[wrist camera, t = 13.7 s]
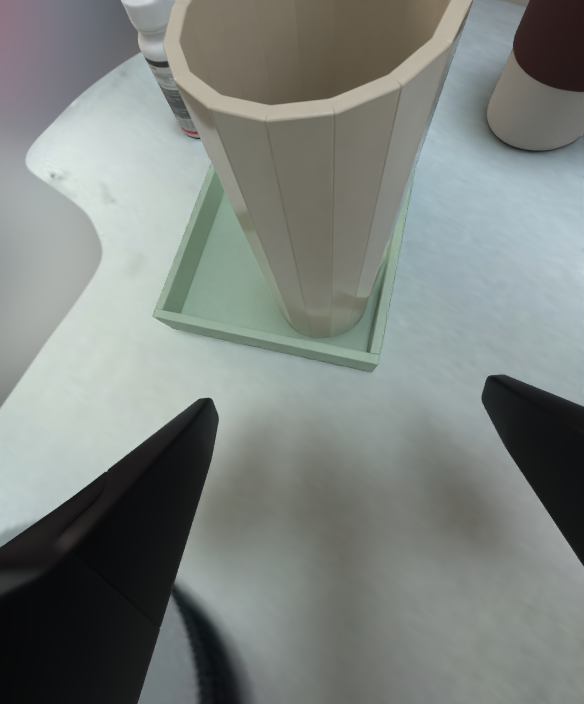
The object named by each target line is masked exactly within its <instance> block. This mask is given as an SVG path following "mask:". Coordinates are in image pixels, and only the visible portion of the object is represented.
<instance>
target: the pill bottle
mask: <svg viewBox="0 0 584 704" xmlns="http://www.w3.org/2000/svg"><path fill="white" fill-rule="evenodd" d="M121 1H122V3H123V5H124V7H125V9H126V11H127V14H128V16H129V18H130V21H131V22H132V24H133V25H134V27H135V28H136V29H137V30H138V31H139V32H138V42H139V46H140V49H141V51H142V53H143V55H144V57H145V59H146V61H147V63H148V65H149V67H150V69H151V71H152V72H153V74H154V76H155V78H156V80H157V82H158V84H159V86H160V88H161V90H162V92H163V94H164V96H165V98H166V99H167V101H168V103H169V105H170V107H171V109H172V111H173V113H174V115H175V117H176V119H177V121H178V123H179V125H180V127H181V128H182V130H183V131H184V132H185V133H186V134H187V135H189V136H191V137H197V138H199V137H200V136H199V134H198V132H197V130H196V128H195V126H194V123H193V121H192V119H191V117H190V115H189V113H188V110H187V108H186V106H185V104H184V102H183V99H182V97H181V95H180V93H179V91H178V89H177V86H176V84H175V82H174V79H173V76H172V73H171V70H170V67H169V64H168V61H167V58H166V55H165V52H164V49H163V40H164V36H165V32H166V28H167V24H168V20H169V16H170V12H171V8H172V7H173V4H174V3H175V1H176V0H121Z"/></svg>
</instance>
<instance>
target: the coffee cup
mask: <svg viewBox="0 0 584 704" xmlns="http://www.w3.org/2000/svg"><path fill="white" fill-rule="evenodd" d="M487 120H488V124H489V126H490V128H491V130H492V131H493V133H494V134H495V135H496V136H497V137H498V138H500V139H501V140H502V141H504V142H506V143H507V144H509V145H512V146H514V147H517V148H521V149H525V150H535V151H540V150H550V149H556V148H559V147H562V146H565V145H567V144H569V143H571V142H573V141H575V140H576V139H578V138H579V137H581V136H582V135H583V134H584V0H530V1H529V3H528V6H527V8H526V10H525V12H524V15H523V17H522V19H521V22H520V24H519V26H518V29H517V31H516V34H515V37H514V41H513V49H512V51H511V53H510V56H509V58H508V60H507V62H506V65H505V67H504V69H503V71H502V74H501V76H500V78H499V81H498V83H497V85H496V87H495V90H494V92H493V94H492V97H491V99H490V101H489V104H488V108H487Z"/></svg>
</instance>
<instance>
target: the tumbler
mask: <svg viewBox="0 0 584 704" xmlns="http://www.w3.org/2000/svg"><path fill="white" fill-rule="evenodd" d="M472 2H473V0H176V1H175V3H174V4H173V7H172V8H171V12H170V16H169V20H168V24H167V28H166V32H165V36H164V40H163V49H164V52H165V55H166V58H167V61H168V64H169V67H170V70H171V73H172V76H173V79H174V82H175V84H176V86H177V89H178V91H179V93H180V95H181V97H182V99H183V102H184V104H185V106H186V108H187V110H188V113H189V115H190V117H191V119H192V121H193V123H194V126H195V128H196V130H197V132H198V134H199V136H200V139H201V141H202V143H203V145H204V147H205V149H206V152H207V154H208V156H209V158H210V160H211V163H212V165H213V167H214V169H215V171H216V173H217V176H218V178H219V180H220V182H221V184H222V186H223V189H224V191H225V193H226V195H227V197H228V200H229V202H230V204H231V206H232V208H233V210H234V213H235V215H236V217H237V219H238V221H239V223H240V226H241V228H242V230H243V232H244V234H245V237H246V239H247V241H248V243H249V245H250V247H251V250H252V252H253V254H254V256H255V258H256V260H257V263H258V265H259V267H260V269H261V271H262V273H263V276H264V278H265V280H266V282H267V284H268V287H269V289H270V291H271V293H272V295H273V297H274V300H275V302H276V304H277V306H278V308H279V310H280V313H281V315H282V317H283V318H284V319H285V321H286V322H287V323H288V324H289V325H290V326H291V327H292V328H293V329H294V330H296V331H297V332H299V333H301V334H303V335H306V336H308V337H313V338H331V337H335V336H339V335H341V334H343V333H345V332H347V331H349V330H350V329H352V328H353V327H354V326H355V325H356V324H357V323H358V322H359V321H360V320H361V318H362V317H363V315H364V313H365V311H366V308H367V306H368V304H369V301H370V299H371V296H372V293H373V290H374V287H375V284H376V281H377V278H378V275H379V272H380V270H381V267H382V264H383V261H384V258H385V255H386V252H387V249H388V246H389V243H390V240H391V238H392V235H393V232H394V229H395V226H396V223H397V220H398V217H399V214H400V211H401V208H402V206H403V203H404V200H405V197H406V194H407V191H408V188H409V185H410V182H411V179H412V176H413V174H414V171H415V168H416V165H417V162H418V159H419V156H420V153H421V150H422V147H423V144H424V142H425V139H426V136H427V133H428V130H429V127H430V124H431V121H432V118H433V115H434V112H435V110H436V107H437V104H438V101H439V98H440V95H441V92H442V89H443V86H444V83H445V80H446V78H447V75H448V72H449V69H450V66H451V63H452V60H453V57H454V54H455V51H456V48H457V46H458V43H459V40H460V37H461V34H462V31H463V28H464V25H465V22H466V19H467V16H468V14H469V11H470V8H471V5H472Z"/></svg>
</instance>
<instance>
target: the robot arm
mask: <svg viewBox="0 0 584 704" xmlns="http://www.w3.org/2000/svg"><path fill="white" fill-rule="evenodd" d="M482 403H483V405H484V407H485V409H486V411H487V413H488V415H489V417H490V419H491V421H492V423H493V424H494V426H495V428H496V430H497V432H498V434H499V436H500V438H501V440H502V442H503V444H504V445H505V447H506V449H507V450H508V452H509V454H510V455H511V457H512V458H513V460H514V461H515V463H516V464H517V466H518V467H519V469H520V470H521V472H522V473H523V475H524V476H525V478H526V479H527V481H528V483H529V484H530V486H531V487H532V489H533V490H534V492H535V493H536V495H537V496H538V498H539V499H540V501H541V502H542V504H543V505H544V507H545V508H546V510H547V511H548V513H549V514H550V516H551V517H552V519H553V520H554V522H555V524H556V525H557V527H558V528H559V530H560V531H561V533H562V534H563V536H564V537H565V539H566V540H567V542H568V543H569V545H570V546H571V548H572V549H573V551H574V552H575V554H576V555H577V557H578V558H579V560H580V562H581V563H582V565H583V566H584V406H581V405H579V404H576V403H574V402H571V401H569V400H566V399H564V398H561V397H559V396H556V395H554V394H551V393H549V392H546V391H544V390H541V389H539V388H536V387H534V386H531V385H529V384H526V383H524V382H521V381H519V380H516V379H514V378H511V377H509V376H506V375H491V376H488V377H487V379H486V382H485V386H484V389H483V393H482ZM218 422H219V417H218V413H217V410H216V408H215V405H214V402H213V400H212V399H211V398H201V399H198V400H197V401H196V402H194V403H193V404H192V405H190V406H189V407H188V408H187V409H185V410H184V411H183V412H181V413H180V414H179V415H178V416H176V417H175V418H174V419H173V420H171V421H170V422H169V423H167V424H166V425H165V426H164V427H162V428H161V429H160V430H158V431H157V432H156V433H155V434H153V435H152V436H151V437H149V438H148V439H147V440H146V441H144V442H143V443H142V444H140V445H139V446H138V447H137V448H135V449H134V450H133V451H131V452H130V453H129V454H128V455H126V456H125V457H124V458H122V459H121V460H120V461H119V462H117V463H116V464H115V465H113V466H112V467H111V468H110V469H108V471H107V472H104V473H103V474H102V475H100V476H99V477H98V478H97V479H95V480H94V481H93V482H91V483H90V484H89V485H87V486H86V487H85V488H84V489H82V490H81V491H80V492H78V493H77V494H76V495H74V496H73V497H71V498H70V499H69V500H67V501H66V502H64V503H63V504H62V505H60V506H59V507H57V508H56V509H55V510H53V511H52V512H50V513H49V514H48V515H46V516H45V517H43V518H42V519H40V520H39V521H38V522H36V523H35V524H33V525H32V526H30V527H29V528H28V529H26V530H25V531H23V532H22V533H20V534H19V535H18V536H16V537H15V538H13V539H12V540H10V541H9V542H8V543H6V544H5V545H3V546H2V547H0V704H137V703H138V700H139V697H140V694H141V690H142V687H143V684H144V680H145V677H146V674H147V671H148V667H149V664H150V661H151V658H152V654H153V651H154V648H155V644H156V641H157V638H158V635H159V631H160V627H161V624H162V621H163V618H164V614H165V611H166V608H167V604H168V601H169V598H170V595H171V591H172V588H173V585H174V581H175V578H176V575H177V572H178V568H179V565H180V562H181V559H182V555H183V552H184V549H185V545H186V542H187V539H188V536H189V532H190V529H191V526H192V523H193V519H194V516H195V513H196V509H197V506H198V503H199V500H200V496H201V493H202V490H203V486H204V483H205V480H206V477H207V473H208V470H209V467H210V463H211V459H212V454H213V449H214V443H215V438H216V433H217V428H218Z"/></svg>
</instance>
